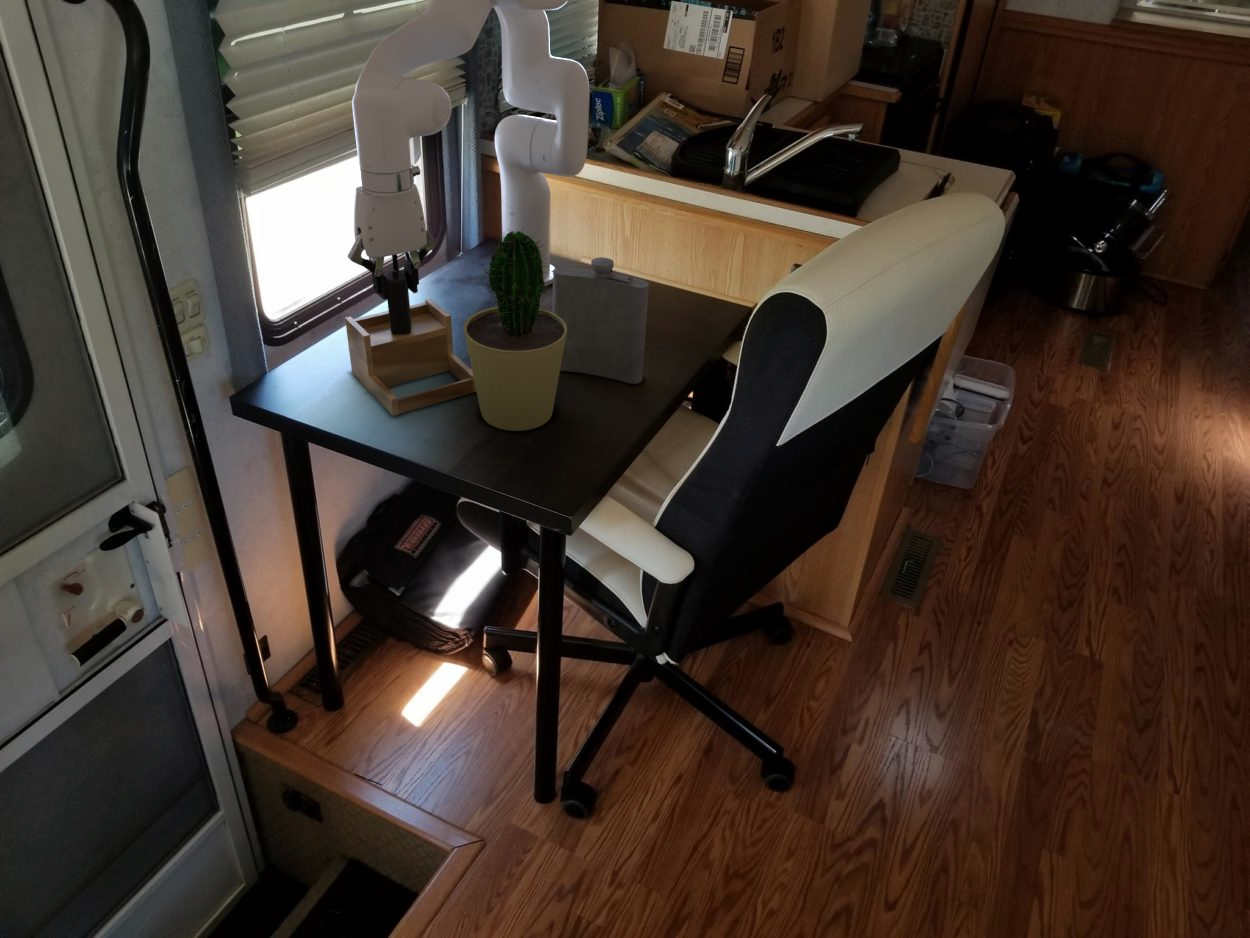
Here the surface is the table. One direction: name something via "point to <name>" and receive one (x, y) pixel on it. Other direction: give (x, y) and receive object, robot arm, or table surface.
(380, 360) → the step shelf
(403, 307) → the walkie-talkie
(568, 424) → the table surface
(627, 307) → the hip flask
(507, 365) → the potted cactus
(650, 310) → the table surface
